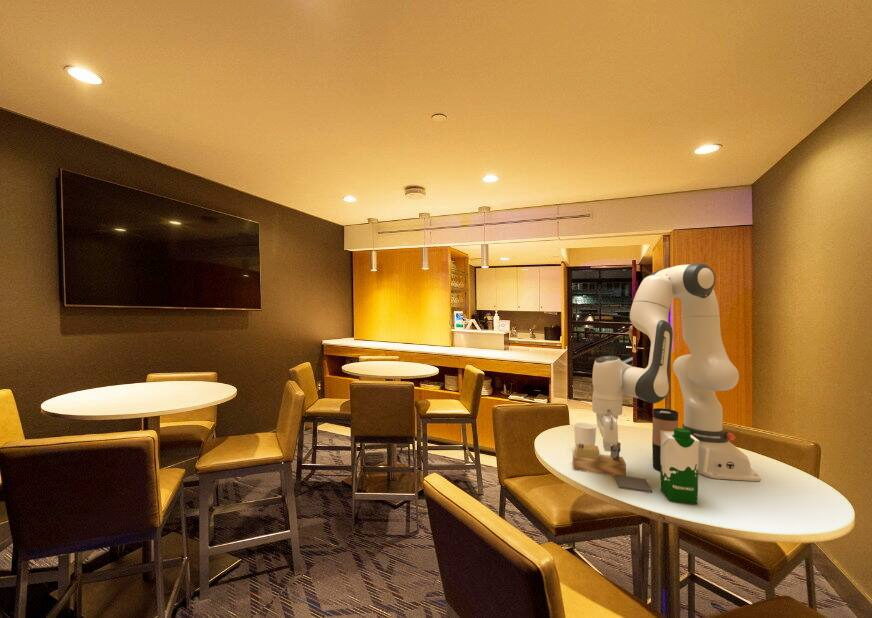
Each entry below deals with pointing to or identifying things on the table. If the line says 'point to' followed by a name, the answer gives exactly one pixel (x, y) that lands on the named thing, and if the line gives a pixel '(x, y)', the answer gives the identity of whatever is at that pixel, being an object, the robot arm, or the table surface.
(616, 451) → the lever
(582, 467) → the plane body
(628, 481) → the rubber mat
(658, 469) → the travel mug
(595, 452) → the gold block with knob
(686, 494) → the milk carton
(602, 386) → the robot arm
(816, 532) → the table surface
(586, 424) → the white cup
